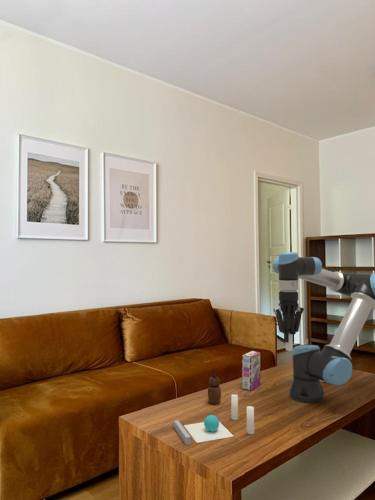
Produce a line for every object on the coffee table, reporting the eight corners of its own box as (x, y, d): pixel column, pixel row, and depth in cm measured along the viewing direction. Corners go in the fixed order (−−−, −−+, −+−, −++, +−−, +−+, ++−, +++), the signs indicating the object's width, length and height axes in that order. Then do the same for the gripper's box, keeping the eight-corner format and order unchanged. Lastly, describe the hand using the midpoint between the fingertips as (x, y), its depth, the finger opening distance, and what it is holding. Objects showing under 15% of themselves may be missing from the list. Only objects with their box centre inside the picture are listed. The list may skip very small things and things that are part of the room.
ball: (198, 422, 137) (209, 430, 139) (204, 428, 132) (215, 437, 133) (208, 409, 139) (218, 418, 140) (214, 415, 134) (224, 424, 135)
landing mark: (217, 420, 145) (217, 419, 145) (233, 436, 132) (233, 436, 132) (183, 425, 140) (183, 425, 140) (196, 443, 127) (196, 442, 127)
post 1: (236, 416, 148) (236, 393, 148) (239, 419, 146) (239, 396, 146) (230, 417, 147) (230, 394, 147) (233, 420, 145) (233, 397, 145)
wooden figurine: (207, 399, 166) (207, 365, 167) (220, 399, 166) (220, 365, 166) (208, 405, 159) (207, 370, 160) (221, 405, 159) (221, 370, 160)
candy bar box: (251, 391, 176) (251, 356, 177) (241, 389, 179) (241, 355, 180) (261, 384, 185) (260, 351, 186) (251, 383, 188) (251, 350, 189)
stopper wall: (178, 426, 139) (177, 420, 139) (190, 444, 126) (190, 436, 126) (173, 427, 139) (173, 420, 139) (186, 445, 126) (186, 437, 126)
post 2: (251, 430, 136) (251, 405, 136) (255, 433, 134) (255, 408, 134) (245, 431, 135) (245, 406, 136) (249, 434, 133) (248, 409, 133)
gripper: (279, 292, 143) (280, 354, 142) (308, 291, 147) (308, 351, 147) (269, 290, 150) (269, 349, 149) (296, 289, 154) (297, 346, 154)
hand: (289, 350), depth 148 cm, fingers closed
